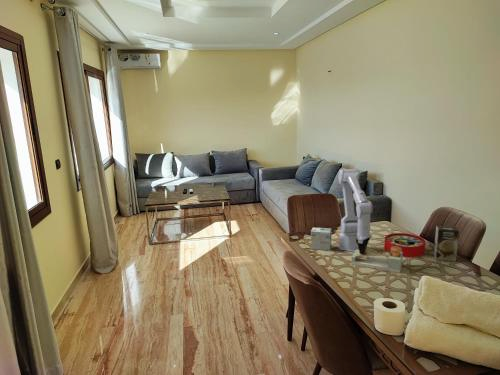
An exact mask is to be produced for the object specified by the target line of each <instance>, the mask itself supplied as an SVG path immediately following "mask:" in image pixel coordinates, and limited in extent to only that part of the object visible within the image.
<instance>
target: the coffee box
mask: <svg viewBox="0 0 500 375" xmlns="http://www.w3.org/2000/svg"><path fill="white" fill-rule="evenodd" d="M434 235H435V236H434V244H433V245H434V247H433V257H434V259H435V260H438V261H449V262H456V261H457V254H458V244H459V237H460V236H459V235H460V230H459V229H458V228H457V226H450V225H436V226H435V234H434Z"/></svg>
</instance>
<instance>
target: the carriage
mask: <svg viewBox="0 0 500 375" xmlns="http://www.w3.org/2000/svg"><path fill="white" fill-rule="evenodd" d="M366 246H367V247H368V245H366ZM369 256H370V250H367V249H365V253H364V254H361V253H360V252H359V251H358V253H357V254H356V258H357V259H361V260H368V257H369Z"/></svg>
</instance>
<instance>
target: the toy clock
mask: <svg viewBox="0 0 500 375" xmlns="http://www.w3.org/2000/svg"><path fill="white" fill-rule="evenodd" d="M426 244H427V243H426V240H425V238H423V237H421V236H419V235H416V234H412V233H405V232H393V233H389V234H386V235H385V237H384V244H383V245H384V247H383V248H384V250H385V251H386V252H387V253H389V254H390V253H391V247H392V246H398V247H401V248H402V251H401V252H403V254H402V258H418V257H421V256H424V255H425V253H426Z"/></svg>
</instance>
